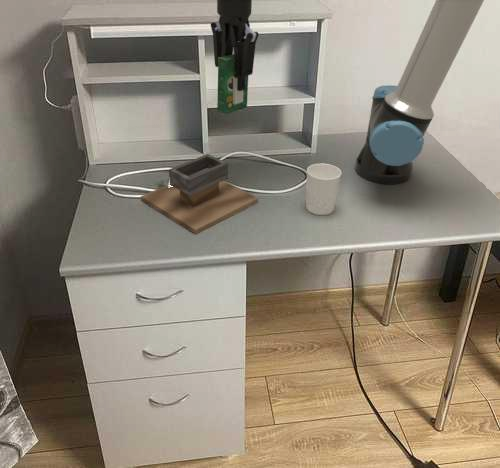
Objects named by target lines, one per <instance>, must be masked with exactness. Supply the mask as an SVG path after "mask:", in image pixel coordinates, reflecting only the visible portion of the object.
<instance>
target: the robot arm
mask: <svg viewBox="0 0 500 468" xmlns="http://www.w3.org/2000/svg"><path fill="white" fill-rule="evenodd" d="M484 1H485V0H435V2H434V4H433V7H432V9H431V11H430V13H429V15H428V18H427V20H426V22H425V25H423V29H422V31H421V32H420V35H419V37H418V39H417V42H416V43H415V46H414V48H413V51H412V52H411V55H410V56H409V60H408V62H407V65H406V66H405V69H404V71H403V73H402V75H401V77H400V80H399V82H398V84H397V85H392V84H391V85H387V84H386V85H381V86H377V87H376V88H375V89H374V91H373V92H374V93H373V96H372V97H371V98H372V103H371V109H370V114H369V121H368V126H367V127H368V128H367V132H366V139H365V143H364V144H363V147H362V148H361V149H360V152H359V154H358V155H357V157H356V160H355V164H354V165H355V166H354V168H355V172H356V174H358V175H359V176H360V177H362V178H363V179H365V180H368V181H371V182H374V183H376V184H377V183H378V184H384V185H396V184H401V183H405V182H407V181H408V180H410V179H411V177H412V174H413V168H414V167H413V166H414V165H413V162H414V161H415V160H416V159H417V158H418V157H419V155H420V154H421V152H422V150H423V146H424V144H425V143H424V142H425V139H424V136H425V134H426V132H427V130H428V128H429V126H430V123H431V122H432V120H433V119H434V116H435V113H434V111H433V108H432V104H433V103H434V101H435V99H436V97H437V95H438V92H439V90H440V89H441V87H442V84H443V83H444V81H445V78H446V77H447V75H448V73H449V71H450V69H451V67H452V65H453V63H454V61H455V59H456V57H457V55H458V54H459V53H458V52H459V51H460V49H461V48H462V45H463V43H464V41H465V39H466V37H467V35H468V33H469V31H470V29H471V27H472V25H473V24H474V21H475V19H476V17H477V15H478V13H479V11H480V9H481V7H482V6H483V3H484ZM252 2H253V1H252V0H216V11H217V14H218V16H219V19H218V21H215V22H214V21H213V22H211V23H210V29H211V32H212V39H213V41H212V43H213V55H214V59H213V60H214V66H215V68H218V57H223V56H228V55H232V54H234V58H235V70H236V75H234V76H233V104H238V103H241V102H243V90H244V89H245V77H246V76H248V77H249V76H251V75H253V72H254V63H255V62H254V61H255V52H256V45H257V44H256V43H257V41H258V38H259V32H258V31H253V30H252V29H251V27H250V26H251V24H250V22H249V18H250V16H251V15H252V7H253V6H252V5H253V4H252ZM241 70H242V71H241Z"/></svg>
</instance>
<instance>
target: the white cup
mask: <svg viewBox="0 0 500 468" xmlns="http://www.w3.org/2000/svg"><path fill="white" fill-rule="evenodd" d="M306 169H307V170H306V184H305V186H306V187H305V197H306V198H305V200H306V201H305V208H306V211H308V212H309V213H311V214H314V215H317V216H326V215H330V214H332V213H333V211H335V205H336V202H337V197H338V193H339V187H340V182H341V179H342V170H341V169H340V168H339V167H337V166H336V165H334V164H328V163H313V164H311V165H309V166H308V167H307V168H306Z"/></svg>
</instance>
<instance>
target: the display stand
mask: <svg viewBox="0 0 500 468" xmlns="http://www.w3.org/2000/svg"><path fill="white" fill-rule="evenodd" d="M228 169H229V163H228V162H226V161H223V160H221V159H219V158H217V157H215V156H213V155H211V154H210V153H207V154H204V155H201V156H200V157H199V156H198V157H197V158H194V159H192V160H189V161H187V162H183V163H182V164H178V165H177V166H173V167H171V168H169V169H168V175H169V184H170V185H171V186H173V187H170V188H168V185H169V184H167V185H164V186H162V187H159V188H157V189H154V190H153V191H150V192H148V193H145V194H143V195H141V196H140V201H141V202H143V203H144V204H146V205H148V206H150V207H151V208H153V209H154V210H156V211H157V212H159V213H161V214H163V215H164V216H165V217H167V218H169V219H170V220H172V221H174V223H175V222H176V223H177V224H178V225H180V226H182V227H184V228H185V229H186V230H188V231H189V232H191V233H192V234H195V235H198V234H199V233H201V232H203V231H205V230H208V229H209V228H210V227H213V226H215V225H217V224H220V223H221V222H223V221H224V220H227V219H228V218H230V217H232V216H234V215H236V214H238V213H241V212H242V211H245V210H246V209H248V208H250V207H253V206H254V205H256V204H258V203H259V198H258V197H257V196H255V195H253V194H251V193H249V192H247V191H245V190H243V189H241V188H239V187H237V186H235V185H233V184H232V183H229V182H228V181H225V180H227V179H228V178H229V177H228V174H229V170H228Z"/></svg>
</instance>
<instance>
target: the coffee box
mask: <svg viewBox="0 0 500 468" xmlns="http://www.w3.org/2000/svg"><path fill="white" fill-rule="evenodd" d="M241 71H242V70H241ZM234 75H236V70H235V58H234V53H233V54H232V55H228V56H223V57H218V67H217V103H216V104H217V105H216V107H217V108H216V110H217V113H219V114H221V115H224V116H225V115H228V114H231V113H233V112H237V111H239V110H243V109H246V108H248V87H249V75H248V76H246V77H245V89H244V90H243V102H241V103H238V104H233V76H234Z"/></svg>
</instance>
